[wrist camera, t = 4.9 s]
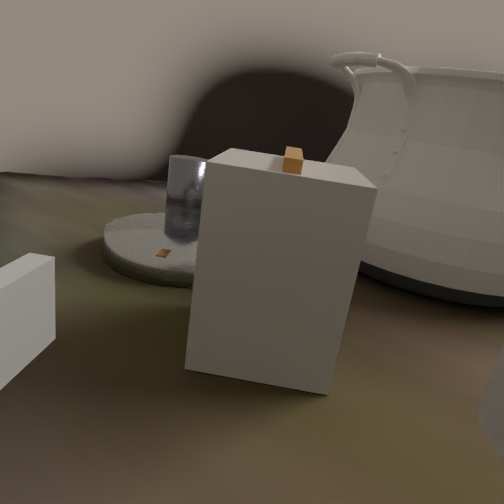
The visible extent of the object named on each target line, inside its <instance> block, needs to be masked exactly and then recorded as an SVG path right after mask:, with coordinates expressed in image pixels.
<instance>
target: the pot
mask: <svg viewBox="0 0 504 504" xmlns="http://www.w3.org/2000/svg"><path fill="white" fill-rule="evenodd" d="M330 64H331V66H332V67H334V68H336V69H340V70H341V71H342V72H343V73H344V74H345V75H346V76H347V77H348V78H349V80H350V82H351V84H352V87H353V90H354V94H355V100H354V105H353V109H352V112H351V116H350V119H349V122H348V126H347V129H346V130H345V132H344V134H343V135H342V137H341V139H340V140H339V142H338V144H337V145H336V147H335V148H334V150H333V151H332V153H331V154H330V156H329V157H328V159H327V160H326V162H325V163H329V164H335V165H342V166H348V167H355V168H356V169H357V170H358V171H359V172H360V173H361V174H362V175H363V176H365V177H366V178H367V179H368V180H369V181H370V182H371V183H372V184H373V185H375V186H376V187H377V188H378V191H377V195H376V199H375V203H374V207H373V212H372V216H371V220H370V224H369V228H368V232H367V236H366V240H365V244H364V249H363V253H362V257H361V261H360V265H359V269H358V272H361V273H363V274H365V275H367V276H369V277H371V278H373V279H376V280H378V281H381V282H383V283H386V284H389V285H391V286H394V287H397V288H400V289H403V290H406V291H410V292H413V293H416V294H420V295H424V296H428V297H432V298H436V299H440V300H444V301H450V302H455V303H461V304H467V305H476V306H485V307H504V73H499V72H491V71H481V70H468V69H456V68H440V67H419V66H403V65H402V64H401V63H399V62H397V61H394V60H390V59H386V58H382V57H381V55H380V54H379V53H368V52H347V53H342V54H337V55H334V56H332V58H331V62H330ZM355 65H357V66H368V67H366V68H360V69H357V70H355V71H354V72H352V71H351V70H350V69H349V68H348V67H347V66H355Z"/></svg>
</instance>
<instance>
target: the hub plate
mask: <svg viewBox="0 0 504 504" xmlns="http://www.w3.org/2000/svg"><path fill="white" fill-rule="evenodd" d="M206 161H208V160H207V159H203V158H199V157H193V156H184V155H171V156H170V161H169V173H168V186H167V199H166V212H165V213H145V214H135V215H129V216H124V217H121V218H118V219H115V220H113V221H111V222H109V223H108V224H107V225H106V226H105V229H104V253H103V254H104V259H105V261H106V263H107V264H108V265H109V266H110V267H112V268H113V269H114V270H116V271H118V272H119V273H121V274H124V275H126V276H128V277H131V278H134V279H137V280H140V281H144V282H148V283H153V284H157V285H164V286H172V287H187V288H193V282H194V272H195V263H196V254H197V244H198V235H199V225H200V216H201V206H202V197H203V187H204V178H205V168H206Z"/></svg>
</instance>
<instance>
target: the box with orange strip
mask: <svg viewBox="0 0 504 504" xmlns="http://www.w3.org/2000/svg"><path fill="white" fill-rule="evenodd" d="M377 191H378V188H377V187H376V186H375V185H373V184H372V183H371V182H370V181H369V180H368V179H367V178H366V177H365V176H363V175H362V174H361V173H360V172H359V171H358V170H357V169H356V168H355V167H348V166H342V165H335V164H329V163H322V162H316V161H309V160H303V154H302V149H300V148H293V147H287V149H286V153H285V156H277V155H271V154H265V153H258V152H252V151H245V150H240V149H233V148H231V149H229V150H227V151H225V152H223V153H221V154H219V155H217V156H216V157H214V158H212V159H210V160H208V161H206V168H205V178H204V187H203V197H202V206H201V216H200V225H199V235H198V244H197V254H196V263H195V272H194V282H193V291H192V301H191V310H190V320H189V329H188V339H187V348H186V358H185V367H184V369H187V370H193V371H198V372H204V373H209V374H214V375H220V376H225V377H231V378H236V379H242V380H247V381H253V382H258V383H264V384H269V385H275V386H280V387H285V388H291V389H296V390H302V391H307V392H313V393H318V394H324V395H328V393H329V388H330V384H331V380H332V376H333V372H334V368H335V364H336V360H337V356H338V351H339V347H340V343H341V339H342V335H343V331H344V327H345V323H346V318H347V314H348V310H349V306H350V302H351V298H352V294H353V290H354V286H355V281H356V277H357V273H358V269H359V265H360V261H361V257H362V253H363V249H364V244H365V240H366V236H367V232H368V228H369V224H370V220H371V216H372V212H373V207H374V203H375V199H376V195H377Z"/></svg>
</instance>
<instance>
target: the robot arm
mask: <svg viewBox="0 0 504 504" xmlns="http://www.w3.org/2000/svg"><path fill="white" fill-rule="evenodd" d="M54 339H55V257H51V256H46V255H40V254H34V253H28V254H26V255H24V256H22V257H21V258H19V259H17V260H15V261H13V262H11V263H9V264H7V265H5V266H3V267H1V268H0V390H1V389H2V388H3V387H4V386H5V385H6V384H7V383H8V382H10V381H11V380H12V379H13V378H14V377H15V376H16V375H17V374H18V373H19V372H20V371H21V370H22V369H23V368H24V367H26V366H27V365H28V364H29V363H30V362H31V361H32V360H33V359H34V358H35V357H36V356H37V355H38V354H39V353H41V352H42V351H43V350H44V349H45V348H46V347H47V346H48V345H49V344H50V343H51V342H52V341H53V340H54ZM476 417H477V418H478V420H479V422H480V423H481V425H482V427H483V428H484V430H485V432H486V433H487V435H488V437H489V438H490V440H491V442H492V443H493V445H494V447H495V448H496V450H497V452H498V453H499V455H500V457H501V458H502V460H503V462H504V345H503V348H502V350H501V353H500V355H499V358H498V360H497V363H496V365H495V368H494V371H493V373H492V376H491V378H490V381H489V383H488V386H487V388H486V391H485V394H484V396H483V399H482V401H481V404H480V406H479V409H478V412H477V414H476Z"/></svg>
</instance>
